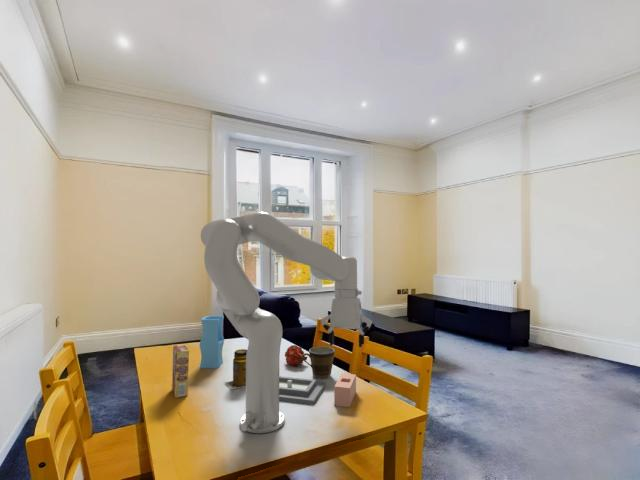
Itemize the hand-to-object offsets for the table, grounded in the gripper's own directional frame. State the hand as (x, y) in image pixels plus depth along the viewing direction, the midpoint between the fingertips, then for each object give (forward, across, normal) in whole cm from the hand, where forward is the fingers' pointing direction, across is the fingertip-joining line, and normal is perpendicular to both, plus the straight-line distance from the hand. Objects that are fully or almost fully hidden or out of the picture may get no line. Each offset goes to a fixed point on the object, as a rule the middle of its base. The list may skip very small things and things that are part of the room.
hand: (346, 345), depth 118 cm
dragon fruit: (+18, +27, -28) cm, 43 cm away
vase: (+17, +61, -18) cm, 66 cm away
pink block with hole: (+18, 0, 0) cm, 18 cm away
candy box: (+17, +56, +10) cm, 60 cm away
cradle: (+17, +20, -1) cm, 27 cm away
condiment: (+18, +40, -2) cm, 44 cm away
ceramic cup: (+18, +14, -17) cm, 28 cm away
